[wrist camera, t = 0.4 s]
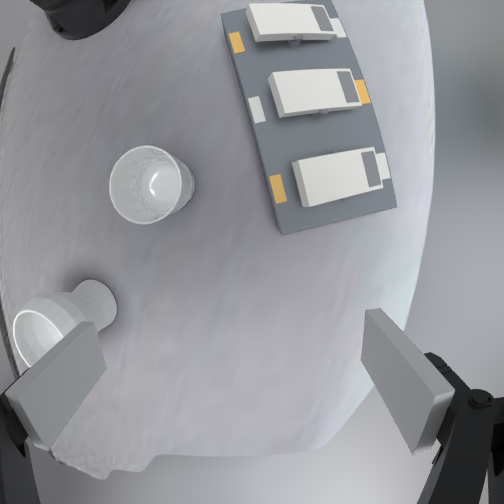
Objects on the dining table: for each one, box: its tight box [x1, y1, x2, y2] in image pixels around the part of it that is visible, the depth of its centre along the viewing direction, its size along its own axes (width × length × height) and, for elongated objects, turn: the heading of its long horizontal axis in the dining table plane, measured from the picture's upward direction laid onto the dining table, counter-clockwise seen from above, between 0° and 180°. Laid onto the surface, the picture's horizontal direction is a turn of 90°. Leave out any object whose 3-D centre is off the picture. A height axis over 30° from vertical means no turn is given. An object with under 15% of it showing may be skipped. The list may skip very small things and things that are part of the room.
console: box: [221, 0, 397, 235], centre depth 32 cm, size 28×14×8 cm, turn 14°
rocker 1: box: [245, 3, 336, 42], centre depth 25 cm, size 5×9×2 cm, turn 104°
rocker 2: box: [268, 67, 362, 118], centre depth 27 cm, size 5×9×2 cm, turn 104°
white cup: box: [109, 146, 195, 224], centre depth 33 cm, size 8×8×10 cm
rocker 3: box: [292, 147, 383, 207], centre depth 29 cm, size 5×9×2 cm, turn 104°
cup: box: [13, 279, 117, 367], centre depth 34 cm, size 11×11×15 cm
